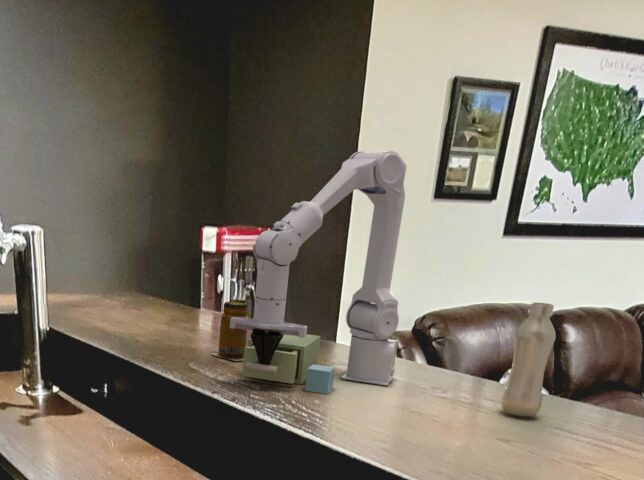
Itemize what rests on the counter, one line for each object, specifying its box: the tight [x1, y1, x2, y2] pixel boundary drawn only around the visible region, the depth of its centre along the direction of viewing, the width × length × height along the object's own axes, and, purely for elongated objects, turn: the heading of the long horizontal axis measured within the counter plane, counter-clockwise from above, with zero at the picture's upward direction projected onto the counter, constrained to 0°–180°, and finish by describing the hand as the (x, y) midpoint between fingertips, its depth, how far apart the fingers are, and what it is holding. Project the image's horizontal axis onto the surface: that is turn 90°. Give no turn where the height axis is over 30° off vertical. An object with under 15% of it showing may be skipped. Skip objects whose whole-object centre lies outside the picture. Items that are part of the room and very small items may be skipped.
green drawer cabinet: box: [247, 333, 322, 385], centre depth 150 cm, size 14×12×8 cm
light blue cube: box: [304, 364, 336, 395], centre depth 139 cm, size 4×4×4 cm
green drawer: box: [241, 345, 300, 385], centre depth 143 cm, size 18×10×6 cm, turn 157°
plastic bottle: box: [500, 301, 557, 417], centre depth 128 cm, size 6×7×20 cm
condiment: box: [209, 301, 249, 362], centre depth 162 cm, size 7×8×12 cm
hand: (263, 370), depth 138 cm, fingers closed, pressing on green drawer
